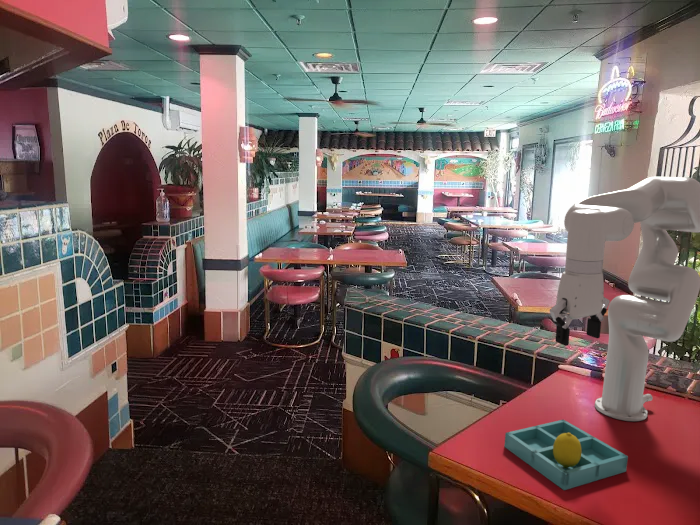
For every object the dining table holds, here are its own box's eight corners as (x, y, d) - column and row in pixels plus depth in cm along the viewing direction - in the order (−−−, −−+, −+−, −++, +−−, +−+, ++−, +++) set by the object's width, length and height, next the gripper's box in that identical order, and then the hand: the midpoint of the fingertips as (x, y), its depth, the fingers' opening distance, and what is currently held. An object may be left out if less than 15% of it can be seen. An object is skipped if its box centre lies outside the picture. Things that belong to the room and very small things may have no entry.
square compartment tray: (562, 432, 128) (563, 419, 127) (626, 471, 112) (628, 456, 111) (504, 446, 121) (505, 432, 120) (564, 490, 105) (565, 474, 104)
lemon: (582, 476, 108) (586, 441, 106) (553, 473, 109) (557, 437, 107) (576, 462, 113) (580, 428, 112) (549, 459, 114) (552, 425, 113)
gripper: (597, 259, 122) (591, 329, 125) (541, 267, 115) (536, 341, 118) (625, 265, 115) (618, 339, 119) (568, 274, 108) (562, 352, 112)
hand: (577, 340), depth 119 cm, fingers open, 9 cm apart
